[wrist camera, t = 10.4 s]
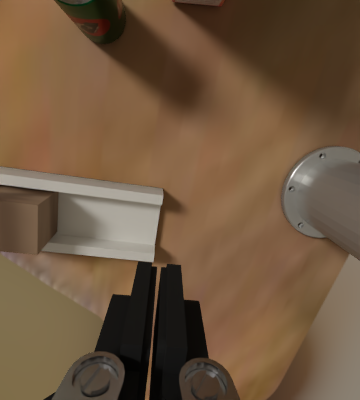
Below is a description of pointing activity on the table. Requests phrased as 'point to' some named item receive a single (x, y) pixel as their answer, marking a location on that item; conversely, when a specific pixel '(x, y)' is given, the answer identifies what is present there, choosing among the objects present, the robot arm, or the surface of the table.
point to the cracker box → (202, 2)
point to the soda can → (96, 18)
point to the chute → (97, 214)
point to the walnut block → (27, 218)
